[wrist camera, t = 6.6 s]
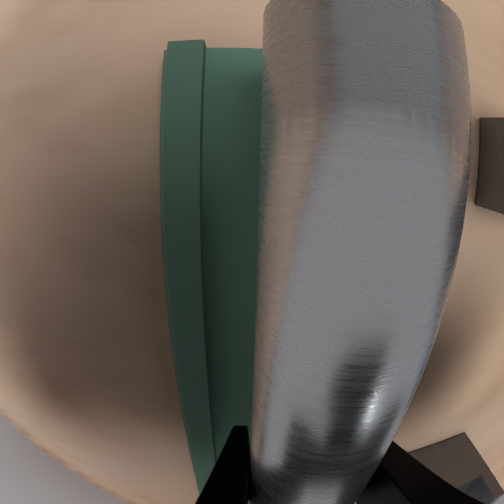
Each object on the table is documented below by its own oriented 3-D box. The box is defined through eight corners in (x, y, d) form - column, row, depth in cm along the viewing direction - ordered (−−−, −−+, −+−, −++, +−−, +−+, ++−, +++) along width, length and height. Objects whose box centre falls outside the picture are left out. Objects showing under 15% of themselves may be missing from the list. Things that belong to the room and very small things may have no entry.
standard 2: (445, 460, 14) (477, 517, 8) (372, 484, 13) (398, 554, 8) (464, 432, 13) (504, 492, 7) (388, 458, 12) (423, 537, 7)
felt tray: (328, 497, 13) (332, 512, 12) (205, 505, 13) (204, 522, 12) (419, 82, 7) (443, 76, 6) (169, 57, 7) (158, 42, 5)
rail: (302, 530, 11) (311, 574, 8) (244, 535, 11) (247, 581, 8) (401, 67, 5) (503, 32, 2) (255, 44, 5) (279, -46, 2)
